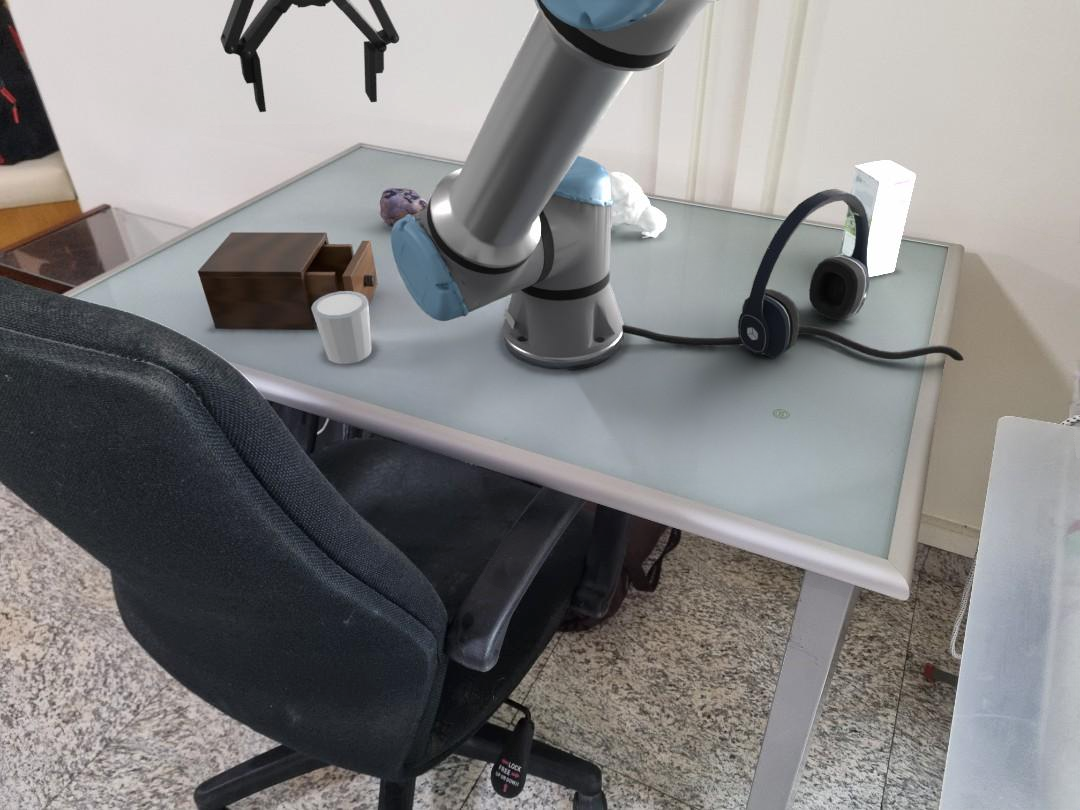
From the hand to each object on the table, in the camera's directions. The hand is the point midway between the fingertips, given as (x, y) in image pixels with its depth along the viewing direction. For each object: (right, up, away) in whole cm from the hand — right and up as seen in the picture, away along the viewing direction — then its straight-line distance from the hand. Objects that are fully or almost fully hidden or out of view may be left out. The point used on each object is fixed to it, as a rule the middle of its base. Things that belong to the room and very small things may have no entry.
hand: (317, 101), depth 104 cm
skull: (+7, -8, +33) cm, 35 cm away
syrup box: (+74, -18, +16) cm, 78 cm away
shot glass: (+3, -31, +3) cm, 31 cm away
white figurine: (+42, -10, +28) cm, 52 cm away
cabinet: (-9, -24, +12) cm, 28 cm away
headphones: (+61, -28, +3) cm, 67 cm away
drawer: (-1, -24, +11) cm, 26 cm away
